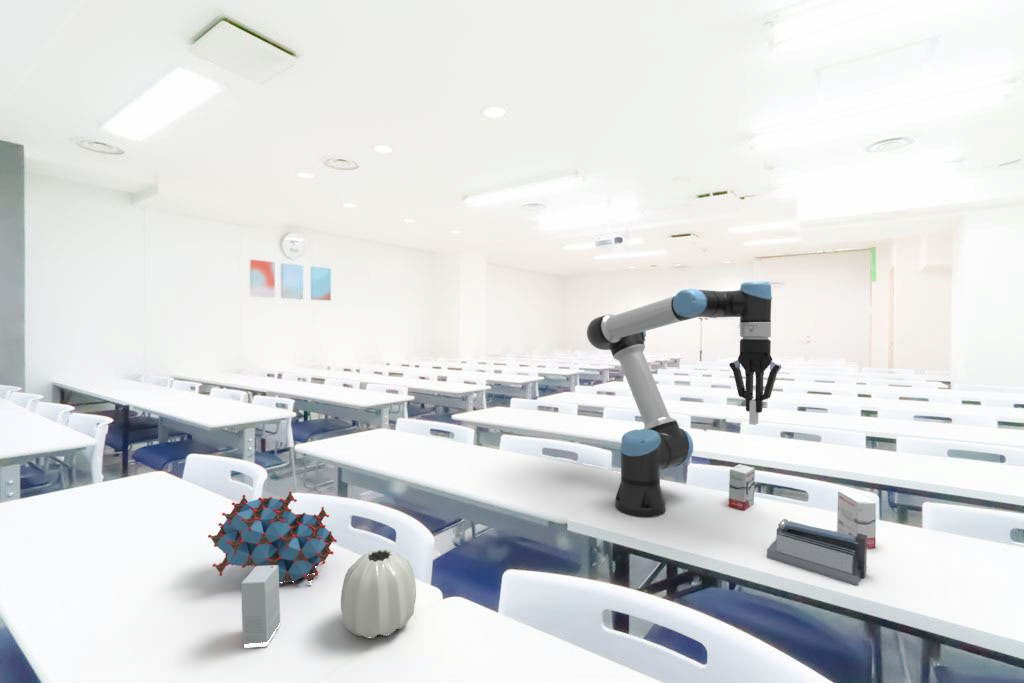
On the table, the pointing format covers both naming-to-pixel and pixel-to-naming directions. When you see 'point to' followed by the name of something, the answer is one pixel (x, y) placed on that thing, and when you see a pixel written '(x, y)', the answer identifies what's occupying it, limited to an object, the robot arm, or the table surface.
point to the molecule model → (273, 538)
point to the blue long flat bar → (816, 531)
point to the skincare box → (260, 604)
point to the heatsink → (821, 554)
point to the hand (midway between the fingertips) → (753, 423)
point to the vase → (378, 594)
